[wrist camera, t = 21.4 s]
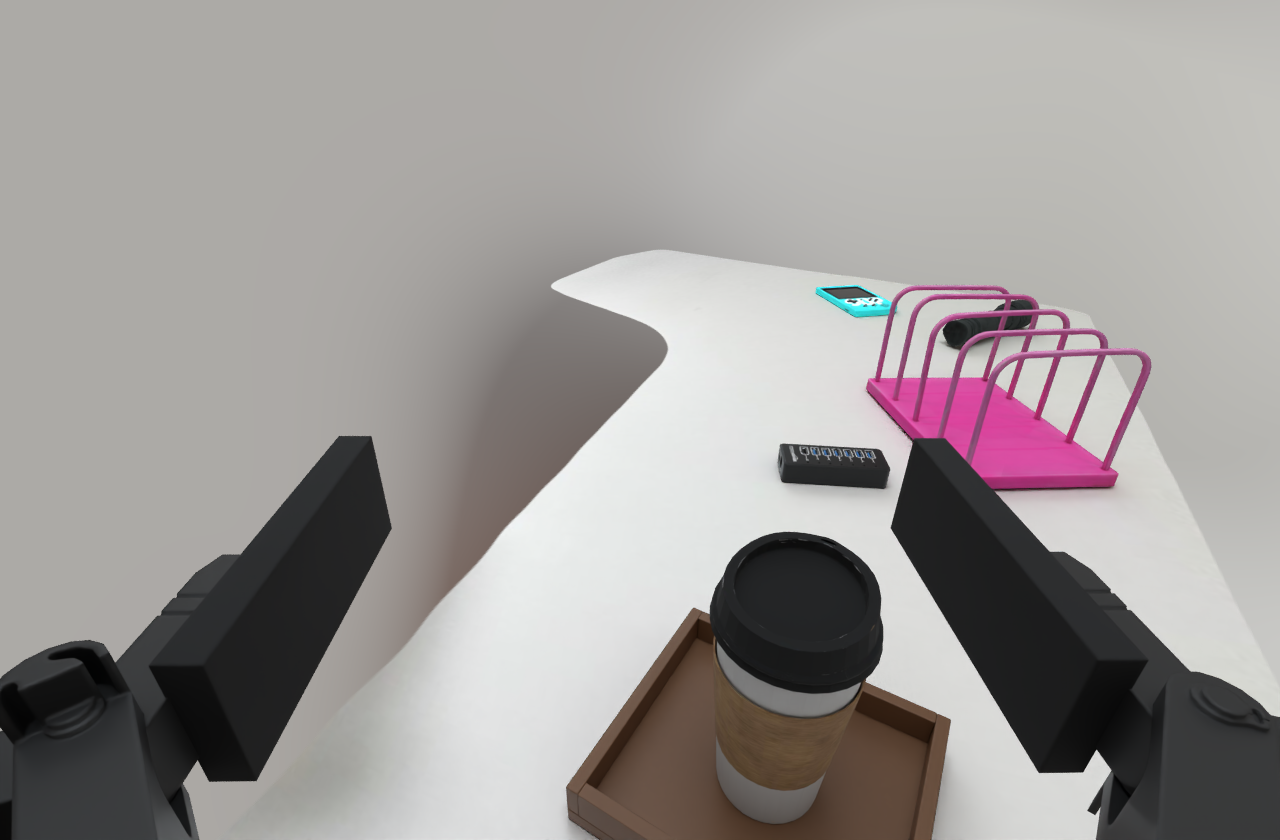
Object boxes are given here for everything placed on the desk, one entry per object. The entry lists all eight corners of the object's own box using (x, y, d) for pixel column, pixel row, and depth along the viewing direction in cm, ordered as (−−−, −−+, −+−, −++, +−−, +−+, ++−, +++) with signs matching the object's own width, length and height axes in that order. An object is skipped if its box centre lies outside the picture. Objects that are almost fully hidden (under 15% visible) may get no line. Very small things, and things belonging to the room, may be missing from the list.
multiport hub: (886, 488, 65) (891, 470, 64) (781, 482, 65) (784, 463, 64) (876, 466, 69) (880, 448, 67) (777, 460, 69) (779, 442, 68)
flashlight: (1031, 330, 109) (1040, 303, 107) (964, 352, 99) (972, 323, 97) (1004, 322, 113) (1012, 295, 111) (936, 343, 103) (944, 314, 101)
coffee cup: (859, 758, 37) (916, 568, 30) (805, 886, 31) (859, 686, 24) (736, 687, 42) (760, 507, 35) (667, 788, 36) (679, 594, 28)
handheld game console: (854, 317, 114) (855, 310, 114) (813, 292, 128) (814, 286, 127) (901, 314, 116) (903, 307, 116) (856, 290, 130) (858, 283, 129)
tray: (567, 818, 35) (565, 787, 34) (691, 635, 47) (693, 606, 45) (889, 1035, 27) (904, 1005, 26) (939, 749, 39) (951, 718, 38)
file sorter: (957, 492, 64) (1001, 352, 57) (864, 390, 86) (887, 279, 79) (1114, 488, 65) (1177, 350, 58) (983, 388, 87) (1017, 278, 80)
